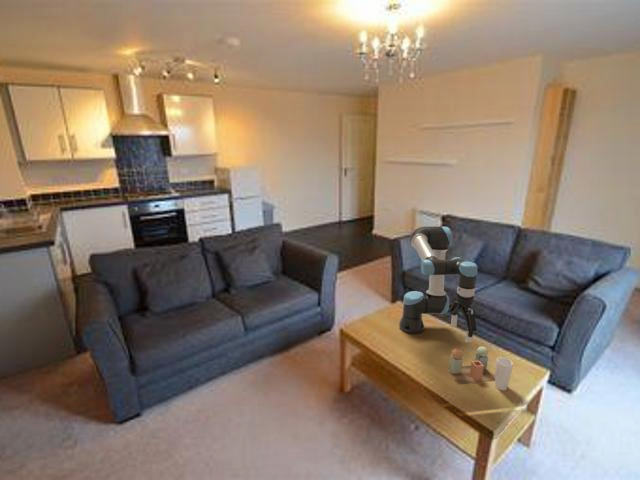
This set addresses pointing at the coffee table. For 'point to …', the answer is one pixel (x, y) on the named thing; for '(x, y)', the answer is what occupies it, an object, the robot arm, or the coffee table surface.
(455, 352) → the terracotta ball
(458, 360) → the sage tube
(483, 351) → the sage ball
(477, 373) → the terracotta tube
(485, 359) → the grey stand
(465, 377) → the board
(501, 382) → the drinking glass
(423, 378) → the coffee table surface
